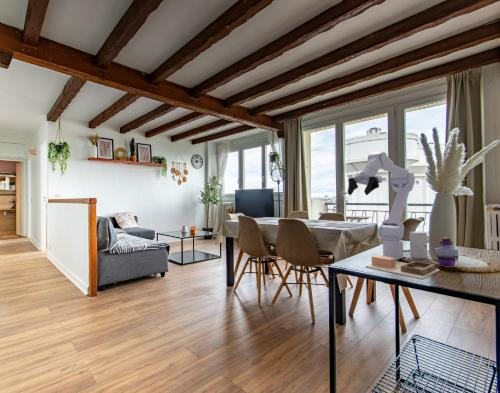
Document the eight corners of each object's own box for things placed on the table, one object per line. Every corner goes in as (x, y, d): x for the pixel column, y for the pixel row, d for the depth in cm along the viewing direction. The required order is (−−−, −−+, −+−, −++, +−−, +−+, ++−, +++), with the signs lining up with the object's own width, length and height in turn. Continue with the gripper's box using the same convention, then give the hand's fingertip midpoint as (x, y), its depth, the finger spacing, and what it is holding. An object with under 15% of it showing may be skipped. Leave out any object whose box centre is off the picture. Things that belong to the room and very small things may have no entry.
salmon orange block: (377, 262, 122) (377, 254, 122) (395, 266, 116) (395, 258, 116) (371, 264, 120) (371, 256, 120) (390, 268, 113) (390, 259, 113)
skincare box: (416, 258, 129) (415, 233, 128) (409, 256, 133) (408, 231, 133) (428, 257, 130) (427, 232, 129) (421, 255, 134) (420, 230, 134)
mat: (385, 260, 127) (385, 259, 127) (439, 270, 110) (439, 269, 110) (366, 267, 118) (366, 265, 118) (422, 279, 100) (422, 277, 100)
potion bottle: (464, 269, 110) (463, 239, 110) (440, 268, 112) (439, 239, 112) (452, 263, 119) (452, 236, 119) (430, 263, 120) (430, 236, 120)
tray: (414, 265, 116) (414, 260, 116) (435, 269, 110) (435, 264, 110) (400, 271, 109) (400, 266, 109) (422, 275, 103) (422, 270, 103)
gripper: (351, 166, 125) (338, 186, 119) (383, 163, 113) (370, 185, 107) (357, 178, 128) (344, 198, 122) (388, 176, 116) (376, 198, 110)
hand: (357, 193), depth 115 cm, fingers open, 7 cm apart
